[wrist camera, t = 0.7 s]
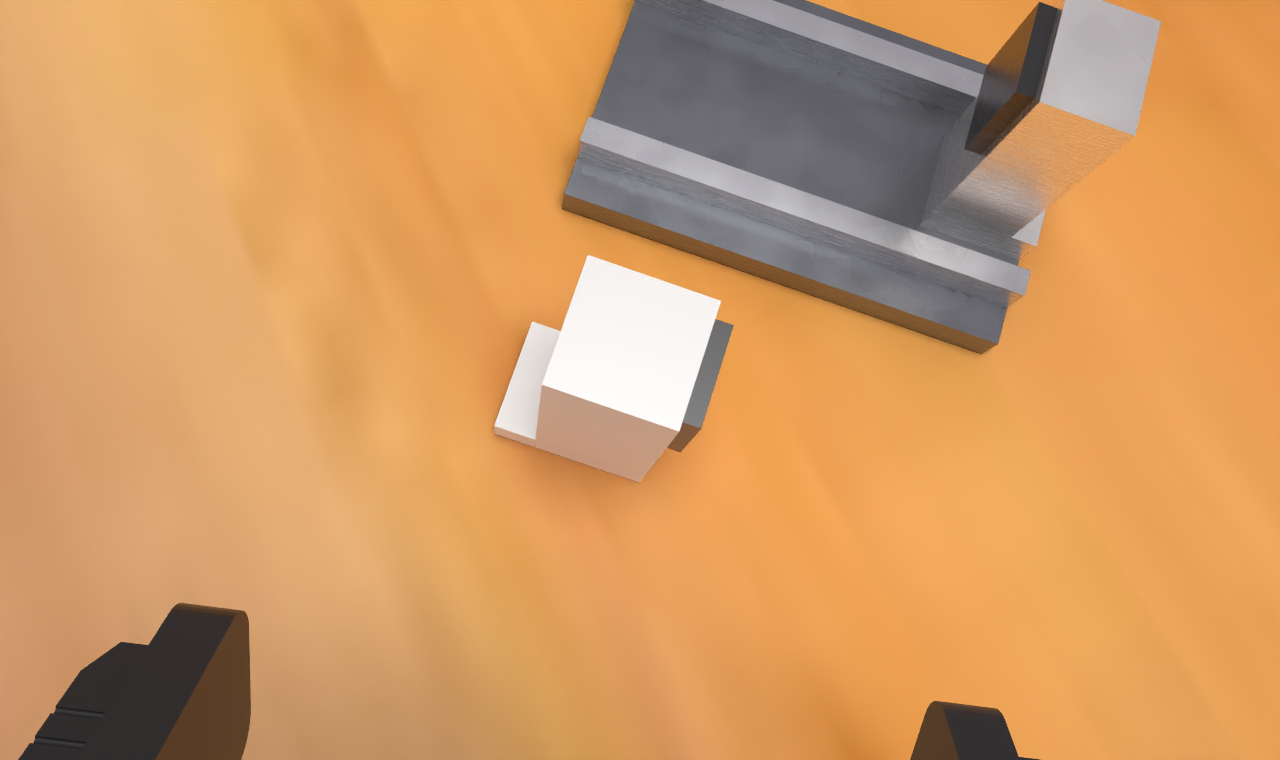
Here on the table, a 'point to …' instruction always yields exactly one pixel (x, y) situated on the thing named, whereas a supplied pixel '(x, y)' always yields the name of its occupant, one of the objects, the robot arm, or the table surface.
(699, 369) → the white stepped block
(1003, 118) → the rail
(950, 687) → the table surface
